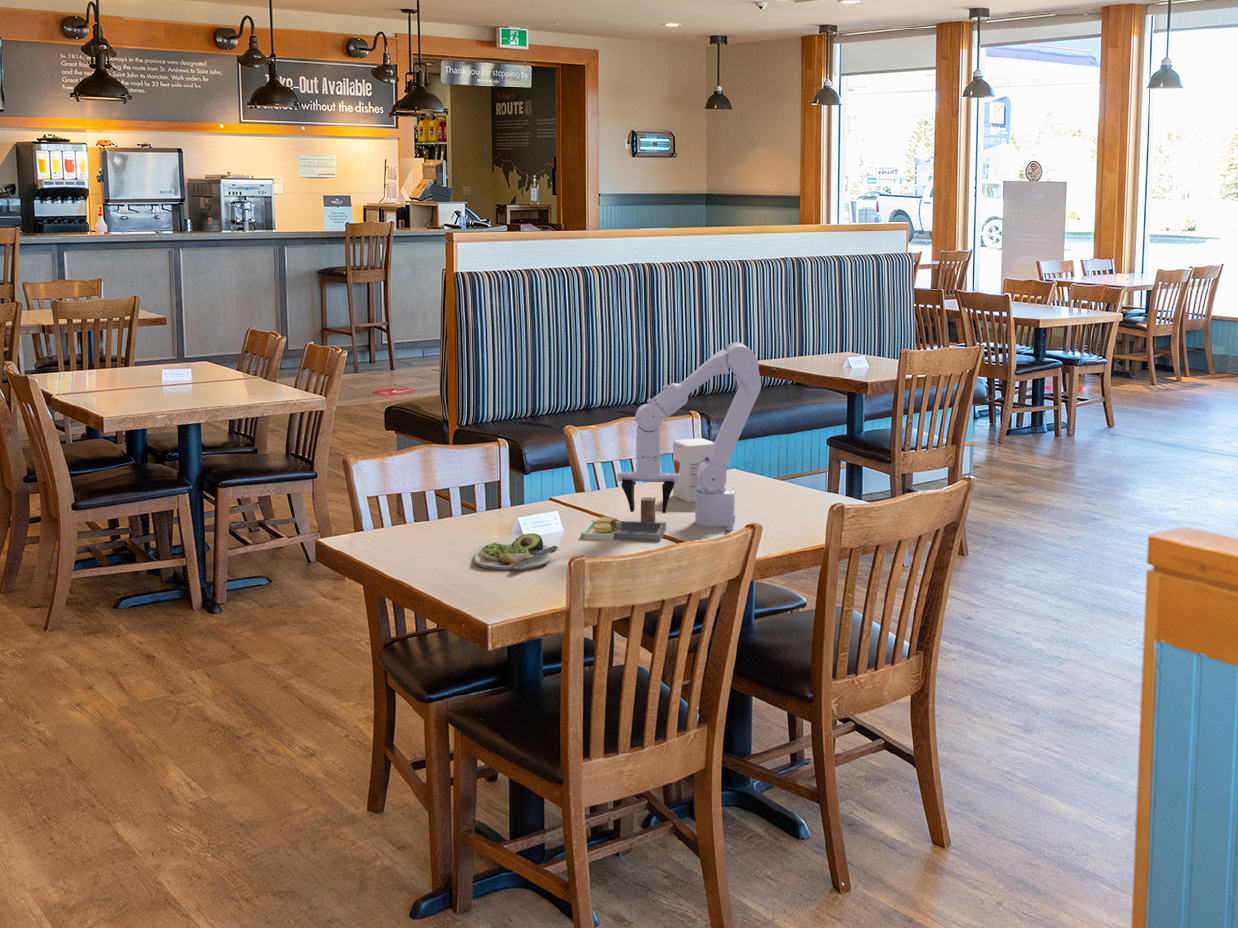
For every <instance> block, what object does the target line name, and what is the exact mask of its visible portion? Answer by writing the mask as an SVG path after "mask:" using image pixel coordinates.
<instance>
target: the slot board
mask: <svg viewBox="0 0 1238 928" xmlns="http://www.w3.org/2000/svg"><path fill="white" fill-rule="evenodd" d="M620 522H621V528H620V530H619V531H614V532H613V534H614V540H613V541H616V540H617V541H635V542H636V541H637V542H638V541H642V542H661V540H662V538H663V536H664V535H665V532H666V531H667V522H659V521H657V522H656V521H655V522H641V521H637V520H636V521H631V520H622V521H620Z"/></svg>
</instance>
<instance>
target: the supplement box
mask: <svg viewBox="0 0 1238 928" xmlns="http://www.w3.org/2000/svg"><path fill="white" fill-rule="evenodd" d="M713 443H714V441H711V440H708V439H706V438H703V437H699V438H689V439H676V440H673V441H672V473H673V474H679V483H678V484H677V483H675V485H674V487H673V489H672V496H673V497H675V498H678V499H680V500H683V501H684V502H686V503H695V498H696V486H697V485H698V484H699V482H700V481H699V480H698V478H697V476H696V467H697V465H698V464H699V462H701V461H702V460H703V459H704V458H705V456H706V454H707V452H708V451H709V450H710V449H711V447H712V446H713Z"/></svg>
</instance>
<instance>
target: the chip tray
mask: <svg viewBox="0 0 1238 928" xmlns="http://www.w3.org/2000/svg"><path fill="white" fill-rule="evenodd" d="M621 522H622V521H619V520H616V528H620V529H621ZM594 524H597V520H590V521H589V523H588V524H587V525H586V527H585V528H584V529H583V530H582V532H581V533H580V539H581V540H583V539H584V540H598V541H599V540H603V541H615V540H614V533H612V534H605V533H594V532H591V531H592V530H593V529H594Z"/></svg>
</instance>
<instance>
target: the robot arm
mask: <svg viewBox="0 0 1238 928" xmlns="http://www.w3.org/2000/svg"><path fill="white" fill-rule="evenodd" d="M759 363H760V362H759V361H758V359H757V357H756V355H755V354H754V352H753V350H752V349H750V347H748V346H746V345H745V344H744V343H742V342H737V341H735V342H732V343H729V344H728V345H727V346H726V347H725V348H723V349H720V350H719V351H718V352H716V353H714V354H713V355H712V356H710V358H708V359H707V360H706V361H704V363H702V364H701V365H700V366H699V367H698V368H697V369H696V370H694V371H693V372H692V373H690V375H688V376H687V377H686V378H685V379H684V380H683V381H682V382H680V383H675V382H672V383H670V384H668V383H666V384H665V385H663V387H662V390H661V391H660V392H659V393H658V394H657V395H655V396H654V397H653V398H649V399H647V401H646V402H647V403H644V404H641V405H640V406H639V407H638V408H637V410H636V411H635V415H634V418H635V421H636V423H637V425H636V426H637V427H636V436H635V441H636V446H635V448H636V449H635V452H636V453H635V455H636V456H635V457H636V458H635V461H636V463H635V465H636V466H635V467H636V468H635V469H636V471H618V472H617V475H616V476H617V482H621V483H620V484H621V485H620V486H621V488H622V491H623V492H624V494H625V497H626V499H627V502H628V506H629V512H630V513H633V512H634V511H635V508H636V507H635V485H636V484H635V482H647V483H648V482H649V483H663V484H662V486H661V487H662V489H661V490H662V491H661V492H662V504H661V505H662V507H661V513H662V514H665V513H667V507H668V503H669V499H670V496H671V493H672V492H673V487H674V485H675V483H677V484H678V483H679V474H673V472H672V473H670V472H665V471H664V472H663V471H661V447H662V446H661V444H662V443H661V439H662V438H661V435H660V431H661V430H660V427H661V425H663V420H665V419H666V420H667V419H668V418H669V417H670V416H672V415H673V414H674V413H676V412H677V411H678V410H680V408H682V407H683V406H684V405H686V404H687V403H688V400H689V395H690V394H691V393H693V392H694V391H695V390H696V389H698V388H700V387H701V386H702V385H704V384H705V383H707V381H709V380H711V379H712V378H713V377H714V376H716V375H726V374H730V371H731V372H732V373H733V375H734V378H735V380H736V382H737V385H738V388H737V390H736V392H735V395H734V397H733V399H732V402H731V404H730V405H729V408H728V410H727V413H726V414H725V418H724V419H723V421H722V423H721V426H720V428H719V430H718V433H717V435H716V437H715V440H714V441H713V442H714V443H713V446H712V447H711V449H710V450H709V451H708V452H707V454H706V456H705V458H704V459H703V460H702V461H701V462H699V464H698V465H697V467H696V476H697V478H698V480H699V481H700V482H699V484H698V485H697V486H696V498H695V502H694V503H695V505H694V506H695V507H694V508H695V511H694V512H695V515H694V520H695V521H694V523H695V524H697V525H699V526H704V527H725V531H732V530H733V529H734V528H733V527H734V525H735V522H736V514H735V511H736V510H735V509H736V508H735V502H736V501H735V500H736V498H735V497H736V496H735V495H736V493H735V491H734V490H729V489H727V487H726V483H727V471H728V469H729V466H730V461H731V456H732V454H733V452H734V451H735V447H736V445H737V443H738V441H739V438H740V436H741V434H742V432H743V430H744V427H745V426H746V423H747V420H748V418H749V416H750V414H751V411H752V409H753V407H754V405H755V403H756V401H757V398H758V397H759V394H760V392H761V389H762V381H761V375H760V369H759V368H760V367H759ZM729 370H730V371H729Z"/></svg>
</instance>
